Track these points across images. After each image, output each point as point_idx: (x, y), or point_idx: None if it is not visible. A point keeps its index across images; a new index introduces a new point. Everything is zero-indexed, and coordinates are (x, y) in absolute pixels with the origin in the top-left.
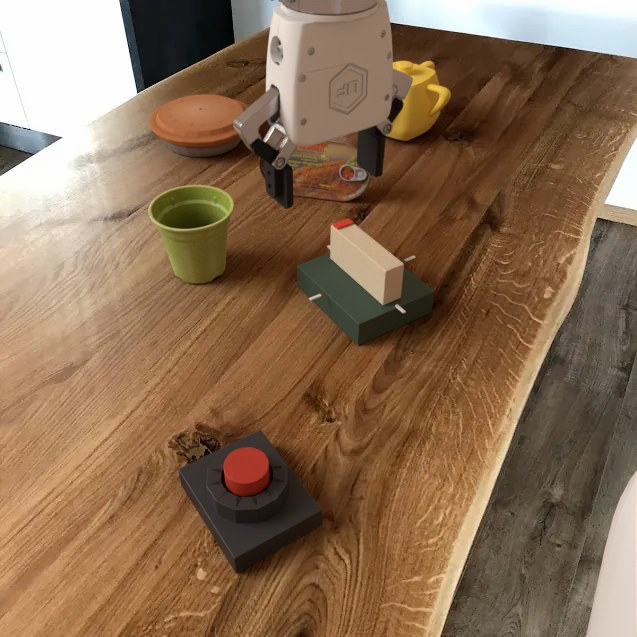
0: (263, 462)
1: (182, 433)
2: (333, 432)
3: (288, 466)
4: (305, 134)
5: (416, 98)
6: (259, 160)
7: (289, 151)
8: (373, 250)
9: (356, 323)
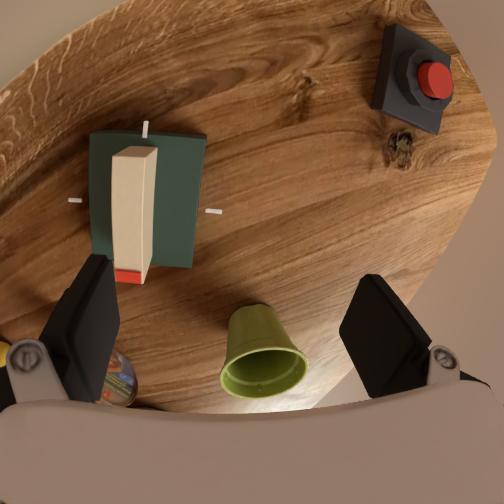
0: (432, 69)
1: (398, 167)
2: (316, 68)
3: (390, 65)
4: (492, 409)
5: None
6: (136, 393)
7: (440, 382)
8: (127, 207)
9: (205, 143)
